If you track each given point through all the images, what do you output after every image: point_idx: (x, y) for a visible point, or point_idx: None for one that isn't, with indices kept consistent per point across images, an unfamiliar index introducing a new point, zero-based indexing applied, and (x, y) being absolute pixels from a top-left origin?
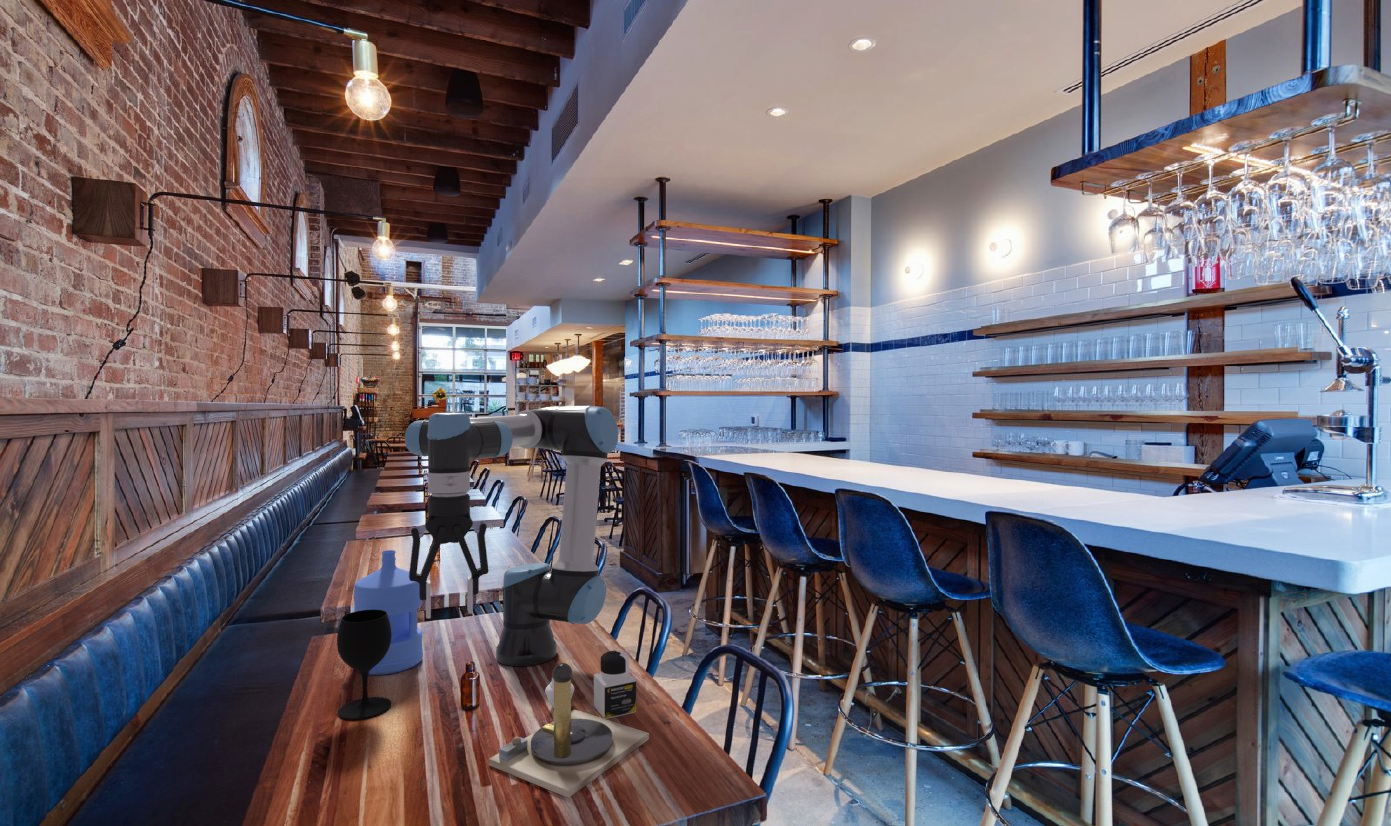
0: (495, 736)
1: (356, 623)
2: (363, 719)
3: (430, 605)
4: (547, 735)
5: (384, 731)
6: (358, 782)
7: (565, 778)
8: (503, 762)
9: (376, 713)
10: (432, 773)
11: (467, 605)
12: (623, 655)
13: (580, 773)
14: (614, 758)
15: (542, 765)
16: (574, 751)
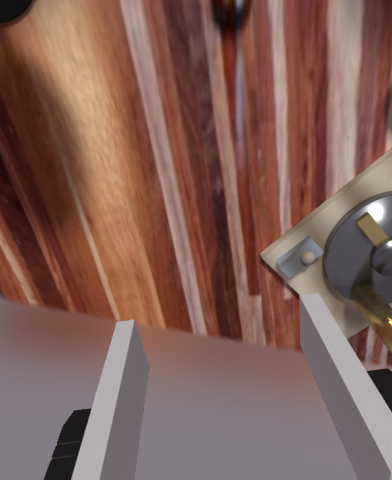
0: (275, 169)
1: None
2: (1, 22)
3: (141, 414)
4: (357, 240)
5: (70, 98)
6: (88, 257)
7: (349, 318)
8: (280, 271)
9: (21, 5)
10: (184, 256)
11: (306, 316)
12: None
13: None
14: None
15: (329, 288)
16: (380, 290)
